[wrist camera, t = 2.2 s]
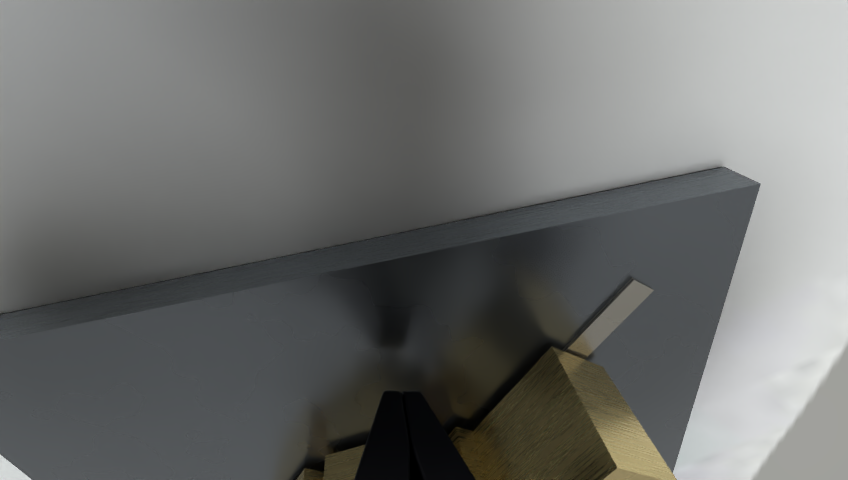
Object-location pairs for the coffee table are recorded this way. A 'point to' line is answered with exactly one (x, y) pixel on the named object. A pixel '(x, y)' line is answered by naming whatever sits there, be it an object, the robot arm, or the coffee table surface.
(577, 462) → the blocky gold gear ring
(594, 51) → the coffee table surface
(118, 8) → the coffee table surface
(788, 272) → the coffee table surface
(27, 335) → the cap plate
